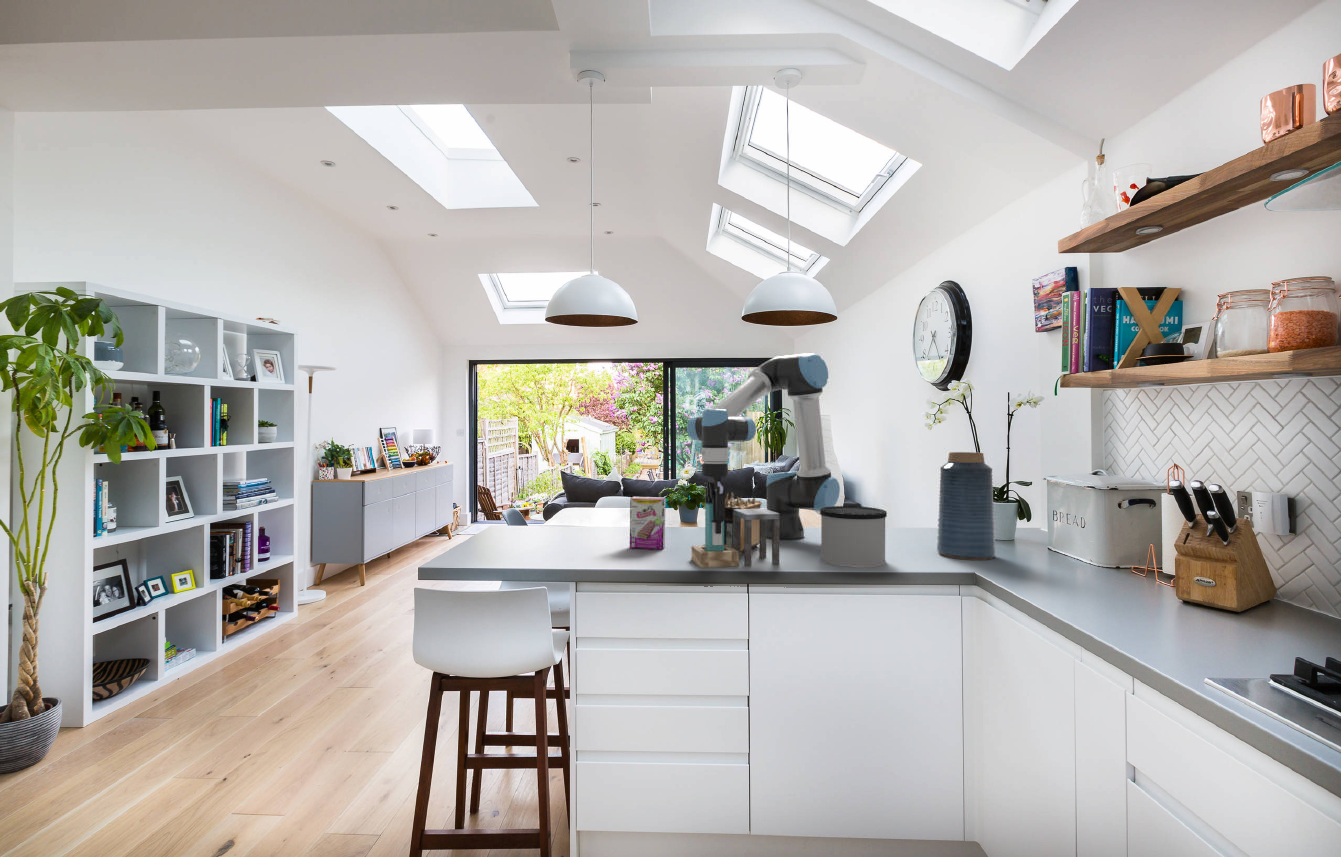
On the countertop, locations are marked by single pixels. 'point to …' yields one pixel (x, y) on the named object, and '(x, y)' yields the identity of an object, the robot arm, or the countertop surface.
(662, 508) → the candy bar box
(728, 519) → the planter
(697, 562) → the socket station
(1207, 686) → the countertop surface
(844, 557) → the container
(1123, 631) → the countertop surface
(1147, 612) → the countertop surface
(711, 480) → the robot arm
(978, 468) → the vase
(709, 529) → the peg
